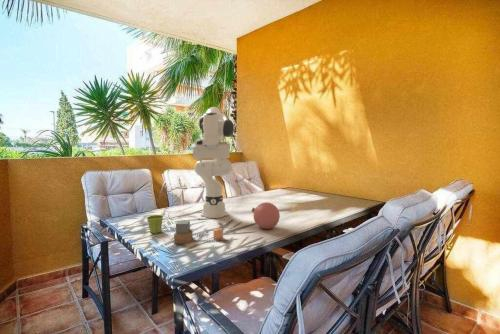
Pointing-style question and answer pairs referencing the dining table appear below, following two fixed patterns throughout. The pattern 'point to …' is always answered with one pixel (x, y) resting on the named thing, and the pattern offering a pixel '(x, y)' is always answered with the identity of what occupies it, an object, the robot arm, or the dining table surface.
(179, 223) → the tower top
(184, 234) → the tower base
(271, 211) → the balloon
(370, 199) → the dining table surface
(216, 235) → the terracotta cylinder
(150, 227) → the plant pot
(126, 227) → the dining table surface
